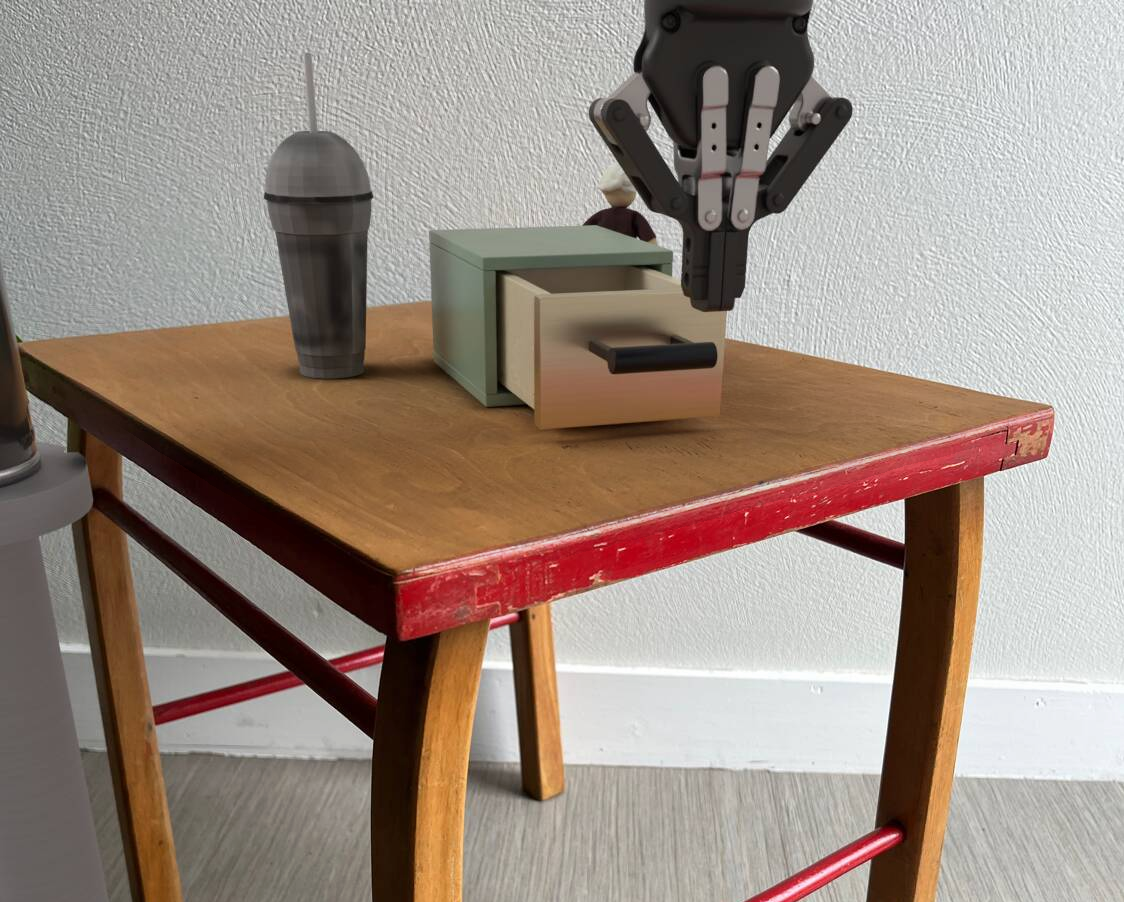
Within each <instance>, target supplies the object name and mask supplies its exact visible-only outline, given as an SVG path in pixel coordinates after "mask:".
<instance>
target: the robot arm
mask: <svg viewBox="0 0 1124 902" xmlns="http://www.w3.org/2000/svg"><path fill="white" fill-rule="evenodd" d="M643 1H644V2H643V9H644V11H643V12H644V30H643V34H642V38H641V41H640V43H639V45H638V47H637V49H636V51H635V53H634V57H633V65H632V66H633V73H632V74H631V75H630V76H629V77H628V78H627V79H626V80H625V81H623V83H622V84H621V85H619V86H618V87H617V88H616V89H615V90H613V92H612V93H611V94H610V95H609V96H607V97H598V98H596V99H594V100H593V101H592V102H591V103H590V105H589V108H588V118H589V120H590V122H591V123H592V126H593V127H594V129H595V130H596V131H597V133H598V134H599V136H600V137H601V139H602V140H603V142H604V143H605V145H606V147H607V148H608V150H609V151H610V153H611V155H612V156H613V157H614V159H615V160H616V162H618V163H619V165H620V166H621V168H622V169H623V171H624V172H625V174H626V176H627V177H628V179H629V180H630V182H631V183H632V185H633V186H634V188H635V189H636V193H637V194H638V195H639V197H640V198H641V200H642V201H643V203H644V204H645V207H646V208H647V209H648V210H649V211H650V212H652V213H654V214H661V215H663V216H666V217H668V218H670V219H674V220H675V221H676V222H678V223H679V225H680V226H681V229H682V248H681V249H682V252H681V273H680V280H681V287H682V291H683V294H684V296H686V297H689V298H690V302H691V306H692V307H693V308H695V309H697V310H699V311H702V312H716V311H727V312H731V311H733V310H734V308H735V304H736V303H735V302H736V299H741V298H742V296H743V293H744V290H745V288H746V280H747V265H748V249H749V236H750V231H751V228H752V227H753V225H754V224H755V223H756V222H758V221H759V220H762V219H763V218H765V217H768V216H770V215H772V214H775V215H777V214H778V215H779V214H781V213H784V212H785V211H786V210H787V208H788V207H789V206H790V204H791V203H792V201H793V200H794V198H795V197H796V196H797V195H798V193H799V192H800V190H801V189H802V187H803V186H804V185H805V183H806V182H807V181H808V179H809V178H810V176H811V175H812V173H813V172H814V171H815V169H816V168H817V167H818V165H819V164H820V162H821V161H822V160H823V158H824V157H825V156H826V154H827V152H828V151H829V150H830V149H831V147H832V146H833V144H834V143H835V141H836V140H837V138H838V137H839V136H840V135H841V133H842V132H843V130H844V129H845V128H846V126H847V124H848V123H849V122H850V120H851V119H852V116H853V112H854V110H853V109H854V108H853V105H852V102H851V101H850V99H848V98H847V97H838V96H834V95H833V94H832V93H831V92H830V91H829V90H828V89H827V88H826V87H825V86H824V84H822V83H821V81H819V79H818V78H817V77H816V76H815V75H814V74H813V73H814V69H815V56H814V55H815V54H814V51H813V49H812V46H811V44H810V39H809V33H808V27H809V21H810V16H811V14H812V13H811V12H812V10H813V9H812V8H813V4H814V0H643ZM648 102H649V104H650V107H651V108H652V109H653V112H654V114H655V115H656V116H657V118H658V120H659V122H660V123H661V125H662V127H663V129H664V130H665V132H666V134H667V135H668V137H669V138H670V140H671V141H672V145H673V146H672V148H673V168H674V171H675V174H676V175H677V178H676V177H675V175H674V173H673V171H672V170H671V168H670V167H669V165H668V164H667V161H665V159H664V157H663V156H662V154H661V153H660V151H659V150H658V148H657V147H656V145H655V143H654V141H653V140H652V138H651V137H650V136H649V134H648V132H647V131H649V128H650V127H651V124H652V123H651V122H652V116H651V113H650V111H649V108H648ZM788 114H789V115H788ZM787 115H788V123H789V126H790V127H789V129H788V130H787V132H786V133H785V135H784V136H783V137H782V139H781V140H780V142H779V143H778V144H777V145H776V147H775V149H774V150H773V151H772V153H771V154H770V156H769V157H768V154H769V147H770V140H771V139H772V138H773V136H774V135H775V134H776V132H777V131H778V129H779V127H780V126H781V124H782V123H783V121H784V119H786V117H787ZM1 254H2V253H0V487H4V486H8V485H11V484H13V483H16V482H19V481H22V480H24V479H26V478H28V477H30V476H32V475H34V474H35V473H36V472H38V471H39V470H40V468H41V459H40V453H39V449H38V447H37V446H36V442H37V441H36V433H35V427H34V425H33V421H32V415H31V411H30V405H29V399H28V395H27V394H28V393H27V389H26V388H27V387H26V384H25V378H24V377H25V376H24V372H23V368H22V362H21V356H20V351H19V346H18V340H17V333H16V329H15V324H14V319H13V313H12V309H11V303H10V298H9V292H8V287H7V286H8V285H7V282H6V276H5V271H4V265H3V260H2V256H1Z"/></svg>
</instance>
